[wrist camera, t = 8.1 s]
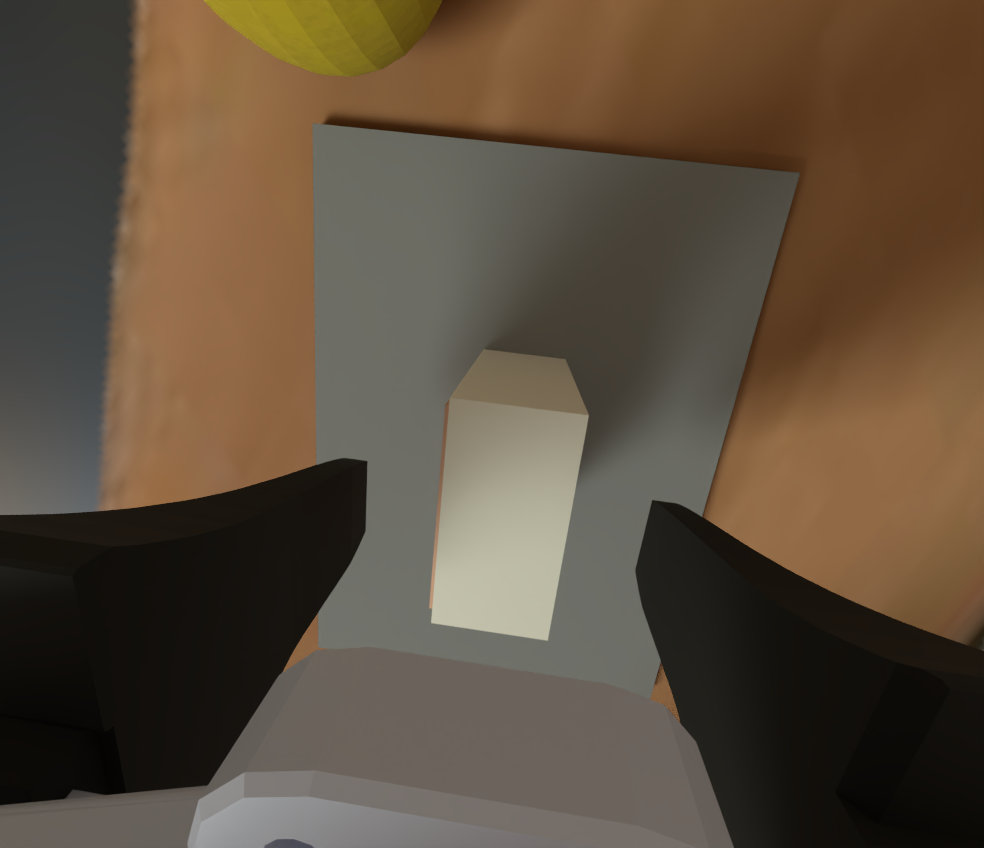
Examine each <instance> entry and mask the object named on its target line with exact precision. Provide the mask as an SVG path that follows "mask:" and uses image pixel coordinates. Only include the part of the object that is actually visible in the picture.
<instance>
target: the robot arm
mask: <svg viewBox="0 0 984 848" xmlns="http://www.w3.org/2000/svg"><path fill="white" fill-rule="evenodd" d="M367 464H368V461H364V460H357V459H349V458H340V459H335V460H331V461H328V462H324V463H321V464H318V465H315V466H312V467H309V468H306V469H303V470H300V471H297V472H294V473H291V474H288V475H285V476H282V477H278V478H275V479H272V480H268V481H265V482H261V483H258V484H255V485H251V486H248V487H245V488H241V489H237V490H233V491H229V492H225V493H221V494H216V495H211V496H206V497H202V498H197V499H192V500H186V501H180V502H173V503H166V504H159V505H152V506H145V507H138V508H130V509H119V510H109V511H97V512H82V513H67V514H40V515H39V514H38V515H0V848H984V651H982V650H979V649H976V648H973V647H970V646H967V645H964V644H961V643H958V642H956V641H953V640H950V639H947V638H944V637H941V636H938V635H936V634H933V633H930V632H927V631H924V630H922V629H919V628H916V627H914V626H911V625H909V624H906V623H903V622H901V621H898V620H896V619H893V618H891V617H888V616H886V615H884V614H881V613H879V612H876V611H874V610H872V609H869V608H867V607H864V606H862V605H860V604H857V603H855V602H853V601H851V600H848V599H846V598H844V597H842V596H839V595H837V594H835V593H833V592H831V591H829V590H827V589H825V588H823V587H821V586H819V585H817V584H815V583H813V582H811V581H809V580H807V579H805V578H803V577H801V576H799V575H797V574H795V573H793V572H791V571H790V570H788V569H786V568H784V567H782V566H781V565H779V564H777V563H775V562H774V561H772V560H770V559H769V558H767V557H765V556H763V555H762V554H760V553H758V552H757V551H755V550H753V549H752V548H750V547H748V546H747V545H745V544H744V543H742V542H740V541H739V540H737V539H736V538H734V537H733V536H731V535H729V534H728V533H726V532H725V531H723V530H722V529H720V528H719V527H717V526H715V525H714V524H712V523H711V522H709V521H708V520H706V519H705V518H703V517H701V516H700V515H698V514H697V513H695V512H693V511H692V510H690V509H688V508H686V507H684V506H682V505H680V504H677V503H671V502H663V501H656V500H652V503H651V507H650V511H649V515H648V519H647V523H646V528H645V532H644V536H643V540H642V544H641V548H640V552H639V556H638V561H637V565H636V569H635V573H636V579H637V584H638V590H639V595H640V600H641V604H642V608H643V611H644V614H645V617H646V620H647V623H648V626H649V629H650V632H651V635H652V637H653V640H654V643H655V646H656V649H657V651H658V654H659V657H660V660H661V663H662V666H663V668H664V671H665V674H666V677H667V680H668V682H669V685H670V688H671V691H672V694H673V697H674V701H675V704H676V707H677V710H678V714H679V718H680V722H681V724H680V722H679V721H678V720H677V719H676V718H675V717H674V715H673V714H672V713H671V712H670V711H669V710H668V708H667V707H666V706H665V705H663V704H660V703H658V702H655V701H652V700H650V699H647V698H645V697H642V696H639V695H637V694H634V693H632V692H629V691H626V690H624V689H621V688H618V687H616V686H613V685H610V684H604V683H598V682H592V681H585V680H579V679H572V678H566V677H560V676H553V675H547V674H541V673H534V672H528V671H521V670H515V669H509V668H502V667H496V666H490V665H483V664H477V663H470V662H464V661H458V660H451V659H445V658H438V657H432V656H426V655H419V654H413V653H407V652H400V651H394V650H387V649H381V648H375V647H360V648H343V649H327V650H316V651H314V652H313V653H311V654H310V655H308V656H307V657H305V658H304V659H302V660H301V661H299V662H298V663H296V664H295V665H293V666H292V667H290V668H289V669H287V670H286V671H284V672H283V670H284V668H285V666H286V664H287V662H288V660H289V658H290V656H291V654H292V653H293V651H294V649H295V647H296V646H297V644H298V643H299V641H300V639H301V638H302V636H303V634H304V633H305V631H306V630H307V628H308V627H309V625H310V624H311V622H312V621H313V619H314V618H315V616H316V615H317V613H318V612H319V610H320V609H321V607H322V606H323V604H324V603H325V602H326V600H327V599H328V597H329V596H330V594H331V593H332V591H333V590H334V588H335V587H336V585H337V584H338V582H339V581H340V579H341V577H342V576H343V574H344V573H345V571H346V570H347V568H348V567H349V565H350V564H351V562H352V560H353V558H354V556H355V554H356V551H357V549H358V547H359V545H360V543H361V541H362V538H363V536H364V534H365V532H366V499H367ZM282 672H283V673H282Z"/></svg>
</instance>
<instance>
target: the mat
mask: <svg viewBox="0 0 984 848" xmlns="http://www.w3.org/2000/svg"><path fill="white" fill-rule="evenodd" d="M799 175H800V173H796V172H786V171H777V170H767V169H757V168H747V167H737V166H728V165H718V164H708V163H698V162H688V161H678V160H669V159H659V158H649V157H639V156H629V155H619V154H610V153H600V152H590V151H580V150H570V149H561V148H551V147H541V146H531V145H521V144H511V143H502V142H492V141H482V140H472V139H462V138H452V137H443V136H433V135H423V134H413V133H403V132H394V131H384V130H374V129H364V128H354V127H344V126H335V125H325V124H315V123H313V197H314V288H315V379H316V465H318V464H321V463H324V462H328V461H331V460H335V459H340V458H349V459H357V460H364V461H368V464H367V499H366V532H365V534H364V536H363V538H362V541H361V543H360V545H359V547H358V549H357V551H356V554H355V556H354V558H353V560H352V562H351V564H350V565H349V567H348V568H347V570H346V571H345V573H344V574H343V576H342V577H341V579H340V581H339V582H338V584H337V585H336V587H335V588H334V590H333V591H332V593H331V594H330V596H329V597H328V599H327V600H326V602H325V603H324V604H323V606H322V607H321V609H320V610H319V612H318V647H320V648H327V649H343V648H360V647H375V648H381V649H387V650H394V651H400V652H407V653H413V654H419V655H426V656H432V657H438V658H445V659H451V660H458V661H464V662H470V663H477V664H483V665H490V666H496V667H502V668H509V669H515V670H521V671H528V672H534V673H541V674H547V675H553V676H560V677H566V678H572V679H579V680H585V681H592V682H598V683H604V684H610V685H613V686H616V687H618V688H621V689H624V690H626V691H629V692H632V693H634V694H637V695H639V696H642V697H645V698H647V699H650V697H651V694H652V690H653V687H654V683H655V680H656V676H657V673H658V669H659V666H660V662H661V660H660V657H659V654H658V651H657V649H656V646H655V643H654V640H653V637H652V635H651V632H650V629H649V626H648V623H647V620H646V617H645V614H644V611H643V608H642V604H641V600H640V595H639V590H638V584H637V579H636V573H635V569H636V565H637V561H638V556H639V552H640V548H641V544H642V540H643V536H644V532H645V528H646V523H647V519H648V515H649V511H650V507H651V503H652V500H656V501H663V502H671V503H677V504H680V505H682V506H684V507H686V508H688V509H690V510H692V511H693V512H695V513H697V514H698V515H700V516H701V517H702V515H703V512H704V508H705V505H706V501H707V498H708V494H709V491H710V487H711V484H712V480H713V477H714V473H715V470H716V466H717V463H718V459H719V456H720V452H721V449H722V445H723V442H724V438H725V435H726V431H727V427H728V424H729V420H730V417H731V413H732V410H733V406H734V403H735V399H736V396H737V392H738V389H739V385H740V382H741V378H742V375H743V371H744V368H745V364H746V361H747V357H748V354H749V350H750V347H751V343H752V340H753V336H754V333H755V329H756V326H757V322H758V319H759V315H760V312H761V308H762V305H763V301H764V298H765V294H766V291H767V287H768V284H769V280H770V277H771V273H772V270H773V266H774V263H775V259H776V256H777V252H778V249H779V245H780V242H781V238H782V235H783V231H784V228H785V224H786V221H787V217H788V214H789V210H790V207H791V203H792V200H793V196H794V193H795V189H796V186H797V182H798V179H799ZM483 349H487V350H495V351H503V352H511V353H519V354H527V355H536V356H544V357H552V358H560V359H566V362H567V364H568V366H569V369H570V371H571V374H572V376H573V378H574V381H575V383H576V386H577V388H578V390H579V393H580V395H581V398H582V400H583V402H584V405H585V407H586V410H587V412H588V414H589V418H588V423H587V429H586V434H585V440H584V445H583V451H582V456H581V461H580V467H579V472H578V478H577V483H576V489H575V494H574V500H573V505H572V511H571V516H570V522H569V527H568V533H567V538H566V543H565V549H564V554H563V560H562V565H561V571H560V576H559V582H558V587H557V593H556V598H555V604H554V609H553V614H552V620H551V625H550V631H549V636H548V641H546V640H540V639H533V638H527V637H520V636H513V635H507V634H500V633H494V632H487V631H480V630H474V629H467V628H461V627H454V626H447V625H441V624H434V623H431V618H432V609H431V608H429V603H430V591H431V578H432V566H433V553H434V541H435V528H436V515H437V503H438V490H439V478H440V465H441V453H442V440H443V428H444V415H445V404H446V403H447V402H448V400H449V399H450V396H451V395H452V394H453V392H454V391H455V389H456V388H457V386H458V385H459V384H460V382H461V381H462V379H463V378H464V376H465V375H466V374H467V372H468V371H469V369H470V368H471V366H472V365H473V364H474V362H475V361H476V359H477V358H478V356H479V355H480V354H481V352H482V351H483Z"/></svg>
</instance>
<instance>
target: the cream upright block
mask: <svg viewBox="0 0 984 848" xmlns="http://www.w3.org/2000/svg"><path fill="white" fill-rule="evenodd" d="M588 418H589V414H588V412H587V410H586V407H585V405H584V402H583V400H582V398H581V395H580V393H579V390H578V388H577V386H576V383H575V381H574V378H573V376H572V374H571V371H570V369H569V366H568V364H567V362H566V359H560V358H552V357H544V356H536V355H527V354H519V353H511V352H503V351H495V350H487V349H483V351H482V352H481V354H480V355H479V356H478V358H477V359H476V361H475V362H474V364H473V365H472V366H471V368H470V369H469V371H468V372H467V374H466V375H465V376H464V378H463V379H462V381H461V382H460V384H459V385H458V386H457V388H456V389H455V391H454V392H453V394H452V395H451V396H450V399H449V400H448V402H447V403H446V404H445V415H444V428H443V440H442V453H441V465H440V478H439V490H438V503H437V515H436V528H435V541H434V553H433V566H432V578H431V591H430V603H429V608H431V609H432V618H431V623H434V624H441V625H447V626H454V627H461V628H467V629H474V630H480V631H487V632H494V633H500V634H507V635H513V636H520V637H527V638H533V639H540V640H546V641H548V636H549V631H550V625H551V620H552V614H553V609H554V604H555V598H556V593H557V587H558V582H559V576H560V571H561V565H562V560H563V554H564V549H565V543H566V538H567V533H568V527H569V522H570V516H571V511H572V505H573V500H574V494H575V489H576V483H577V478H578V472H579V467H580V461H581V456H582V451H583V445H584V440H585V434H586V429H587V423H588Z"/></svg>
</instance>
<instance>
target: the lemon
mask: <svg viewBox="0 0 984 848" xmlns="http://www.w3.org/2000/svg"><path fill="white" fill-rule="evenodd" d="M204 1H205V2H206V3H207V4H208V5H209V7H210V8H211V9H212V10H213V11H214V12H215V13H217V14H218V15H219V16H220V17H221V18H222V19H223V20H224V21H225V22H226V23H228V24H229V25H230V26H231V27H233V28H234V29H235V30H237V31H238V32H239V33H241V34H242V35H244V36H245V37H247V38H248V39H249V40H251V41H252V42H254V43H255V44H257V45H258V46H259V47H261V48H262V49H264V50H265V51H267V52H268V53H270V54H271V55H273V56H275V57H276V58H278V59H280V60H282V61H285V62H287V63H290V64H292V65H295V66H298V67H301V68H303V69H306V70H309V71H312V72H314V73H318V74H322V75H334V76H358V75H362V74H365V73H369V72H373V71H377V70H381V69H383V68H385V67H386V66H388V65H390V64H391V63H393V62H394V61H396V60H398V59H399V58H401V57H403V56H404V55H406V53H407V52H408V51H409V50H410V49H411V48H412V47H413V46H414V45H415V44H416V43H417V41H418V40H419V39H420V38H421V37H422V36H423V35H424V34H425V32H426V30H427V29H428V27H429V25H430V23H431V21H432V20H433V18H434V16H435V14H436V12H437V10H438V9H439V7H440V5H441V2H442V0H204Z"/></svg>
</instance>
